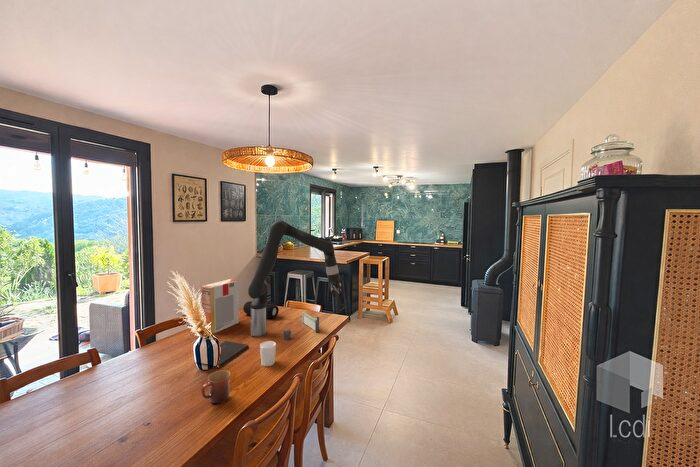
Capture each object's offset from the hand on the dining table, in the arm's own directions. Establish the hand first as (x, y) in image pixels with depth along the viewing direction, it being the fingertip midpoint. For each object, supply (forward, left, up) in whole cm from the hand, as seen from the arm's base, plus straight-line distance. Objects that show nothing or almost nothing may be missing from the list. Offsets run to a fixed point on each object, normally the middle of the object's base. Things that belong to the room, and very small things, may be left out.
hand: (337, 298), depth 180 cm
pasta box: (-68, +40, -25) cm, 83 cm away
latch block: (-30, +8, -25) cm, 40 cm away
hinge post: (-10, +11, -25) cm, 29 cm away
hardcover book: (-66, -1, -26) cm, 71 cm away
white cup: (-44, -18, -25) cm, 54 cm away
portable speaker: (-42, +53, -25) cm, 72 cm away
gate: (-13, +21, -25) cm, 35 cm away
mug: (-67, -42, -25) cm, 83 cm away
